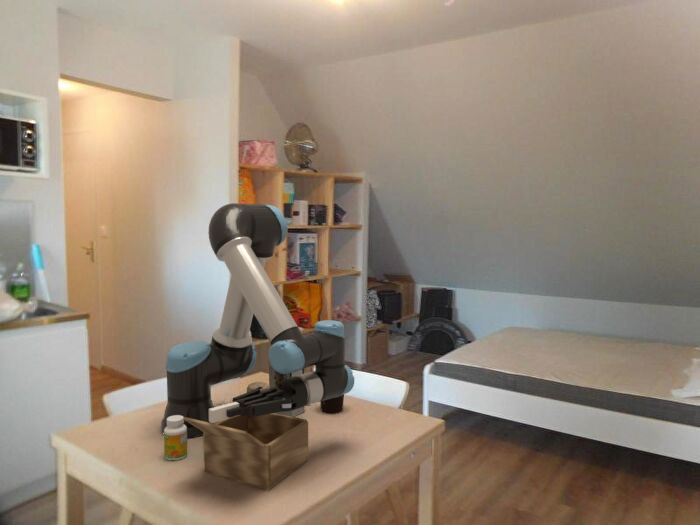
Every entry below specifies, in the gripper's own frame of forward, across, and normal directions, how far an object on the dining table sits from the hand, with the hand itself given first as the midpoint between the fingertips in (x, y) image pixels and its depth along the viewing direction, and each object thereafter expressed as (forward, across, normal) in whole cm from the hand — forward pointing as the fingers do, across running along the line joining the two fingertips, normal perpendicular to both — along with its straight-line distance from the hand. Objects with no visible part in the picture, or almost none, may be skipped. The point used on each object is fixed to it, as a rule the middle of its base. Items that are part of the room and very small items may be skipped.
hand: (210, 416), depth 112 cm
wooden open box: (-14, +4, -17) cm, 22 cm away
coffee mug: (-53, +21, -17) cm, 59 cm away
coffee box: (-40, +28, -17) cm, 52 cm away
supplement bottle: (-2, +22, -17) cm, 28 cm away
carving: (-28, +25, -17) cm, 41 cm away
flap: (-3, 0, -4) cm, 5 cm away
